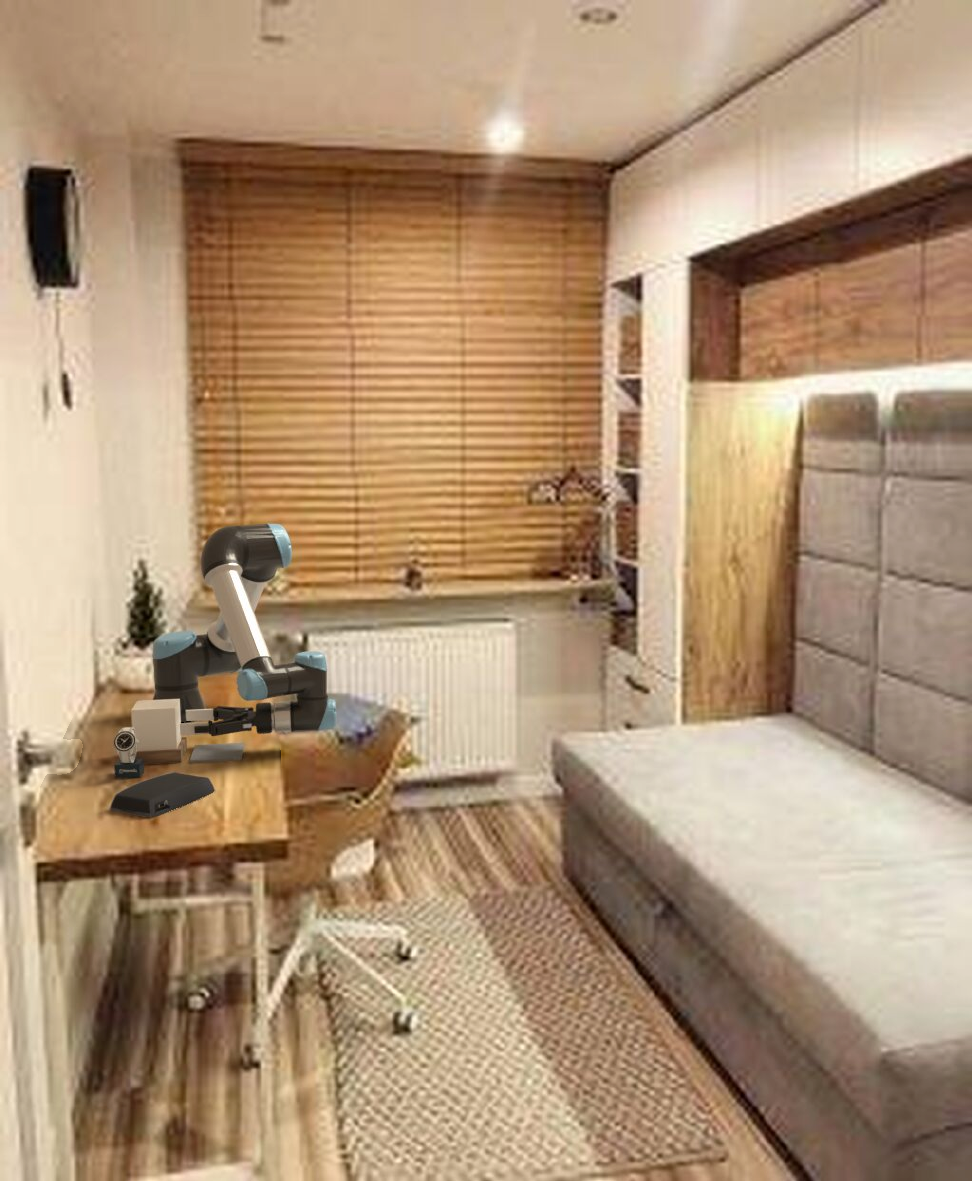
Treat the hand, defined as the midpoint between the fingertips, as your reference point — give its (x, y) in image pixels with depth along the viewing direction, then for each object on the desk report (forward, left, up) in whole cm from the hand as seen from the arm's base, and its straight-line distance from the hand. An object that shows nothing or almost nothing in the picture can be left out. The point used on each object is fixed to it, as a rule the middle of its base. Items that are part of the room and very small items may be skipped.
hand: (183, 722), depth 269 cm
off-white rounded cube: (+2, -6, -5) cm, 8 cm away
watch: (+17, -6, -9) cm, 19 cm away
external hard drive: (+33, +11, -9) cm, 36 cm away
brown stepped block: (+2, -6, -8) cm, 10 cm away
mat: (-3, +7, -8) cm, 11 cm away
